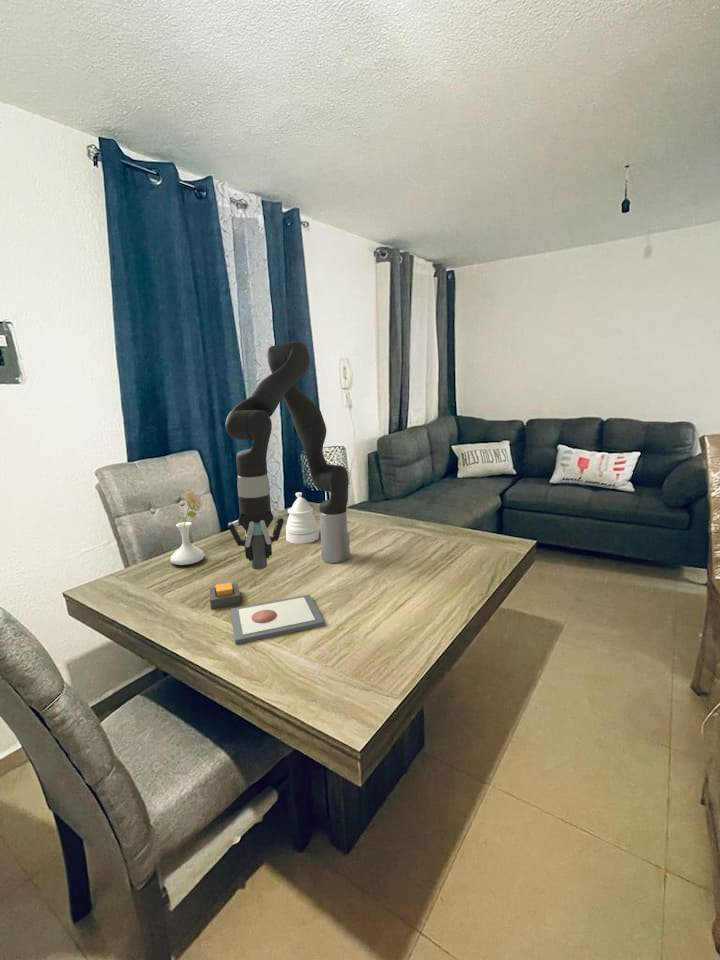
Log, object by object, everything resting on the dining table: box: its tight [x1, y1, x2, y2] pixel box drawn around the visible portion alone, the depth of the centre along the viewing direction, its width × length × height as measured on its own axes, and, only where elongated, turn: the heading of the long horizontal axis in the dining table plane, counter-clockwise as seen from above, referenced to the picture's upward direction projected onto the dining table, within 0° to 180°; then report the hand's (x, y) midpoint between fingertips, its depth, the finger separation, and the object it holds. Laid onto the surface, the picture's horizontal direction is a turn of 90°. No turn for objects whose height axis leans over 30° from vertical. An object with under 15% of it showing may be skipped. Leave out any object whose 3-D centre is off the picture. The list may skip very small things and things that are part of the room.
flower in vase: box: [169, 490, 206, 566], centre depth 153 cm, size 13×11×25 cm
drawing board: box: [230, 594, 325, 645], centre depth 116 cm, size 22×16×1 cm
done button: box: [215, 582, 233, 597], centre depth 127 cm, size 4×4×2 cm
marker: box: [250, 522, 268, 571], centre depth 111 cm, size 4×4×12 cm
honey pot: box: [285, 491, 320, 545], centre depth 174 cm, size 13×13×18 cm
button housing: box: [209, 582, 242, 610], centre depth 127 cm, size 8×8×3 cm
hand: (258, 558), depth 112 cm, fingers closed on marker, 3 cm apart
